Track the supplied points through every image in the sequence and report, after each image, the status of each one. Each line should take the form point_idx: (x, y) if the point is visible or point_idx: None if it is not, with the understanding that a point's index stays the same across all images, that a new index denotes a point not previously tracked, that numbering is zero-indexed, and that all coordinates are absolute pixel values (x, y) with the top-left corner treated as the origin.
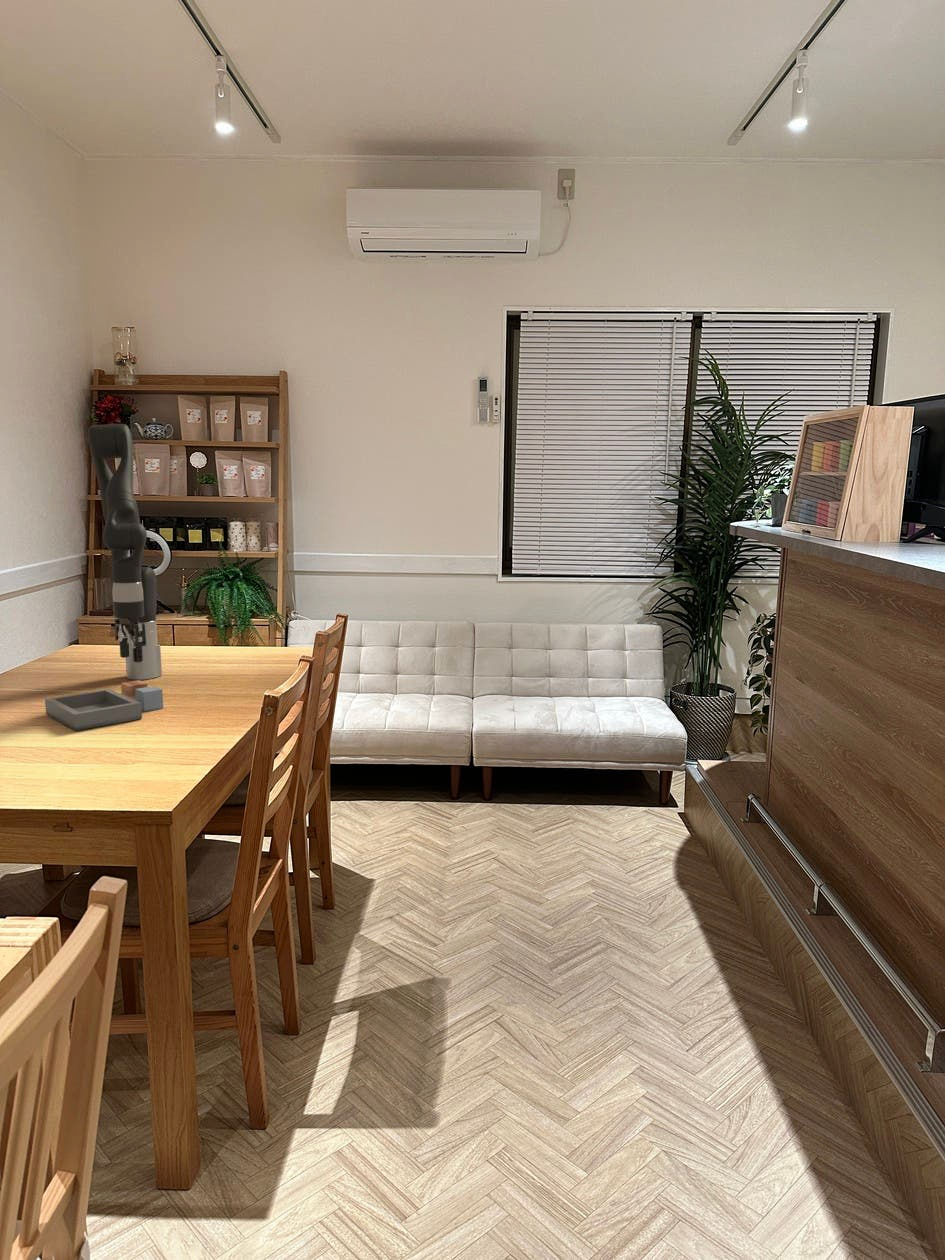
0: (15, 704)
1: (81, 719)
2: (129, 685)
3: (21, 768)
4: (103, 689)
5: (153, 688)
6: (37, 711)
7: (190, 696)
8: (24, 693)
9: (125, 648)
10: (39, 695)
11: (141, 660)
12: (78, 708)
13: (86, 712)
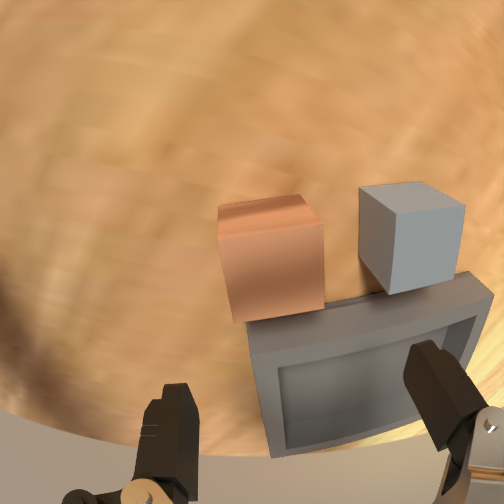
0: (135, 443)
1: None
2: (309, 303)
3: None
4: (254, 369)
5: (431, 230)
6: (221, 433)
7: (312, 18)
8: (44, 413)
9: (188, 454)
10: (65, 405)
11: (431, 346)
12: (292, 392)
13: None
